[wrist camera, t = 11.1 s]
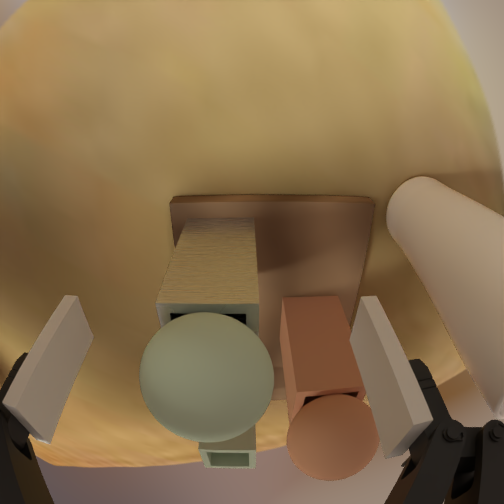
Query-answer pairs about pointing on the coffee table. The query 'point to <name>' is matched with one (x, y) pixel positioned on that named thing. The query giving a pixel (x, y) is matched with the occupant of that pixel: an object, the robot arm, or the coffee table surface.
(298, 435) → the terracotta ball
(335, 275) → the board
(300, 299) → the terracotta tube
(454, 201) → the drinking glass
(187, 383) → the sage ball
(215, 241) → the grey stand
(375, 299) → the robot arm
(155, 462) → the coffee table surface
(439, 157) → the coffee table surface
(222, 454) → the sage tube
